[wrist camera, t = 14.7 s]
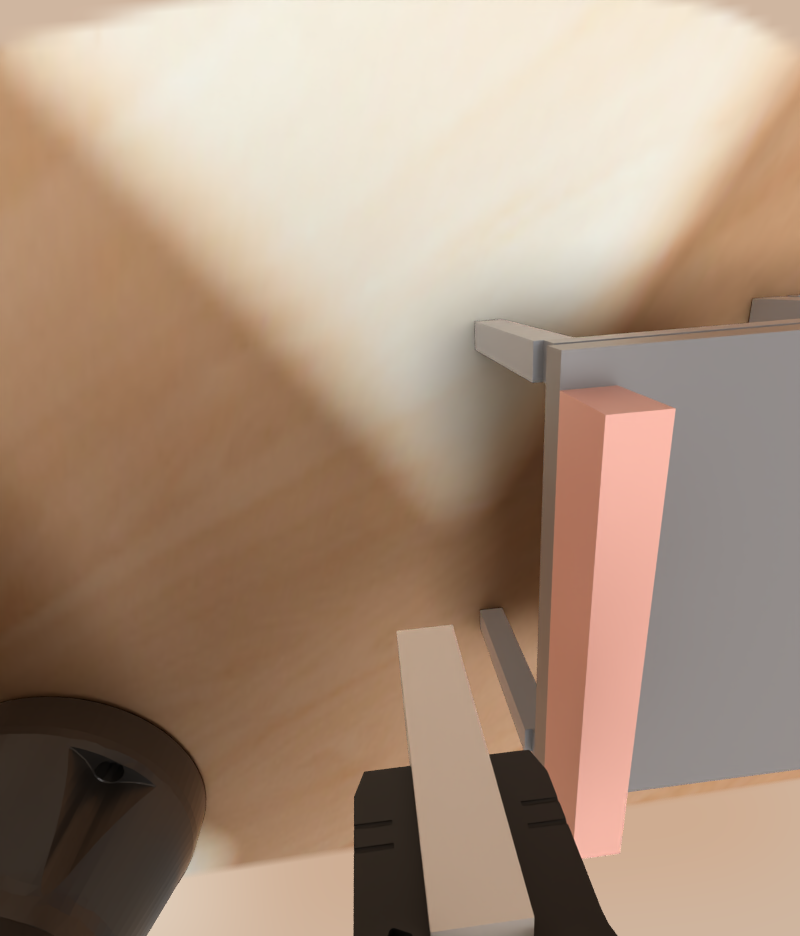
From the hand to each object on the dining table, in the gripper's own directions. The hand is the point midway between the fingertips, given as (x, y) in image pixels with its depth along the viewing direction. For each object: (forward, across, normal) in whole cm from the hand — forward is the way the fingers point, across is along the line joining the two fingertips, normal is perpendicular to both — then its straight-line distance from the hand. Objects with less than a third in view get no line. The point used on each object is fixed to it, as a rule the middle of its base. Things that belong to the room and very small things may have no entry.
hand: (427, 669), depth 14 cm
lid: (+3, +9, 0) cm, 9 cm away
